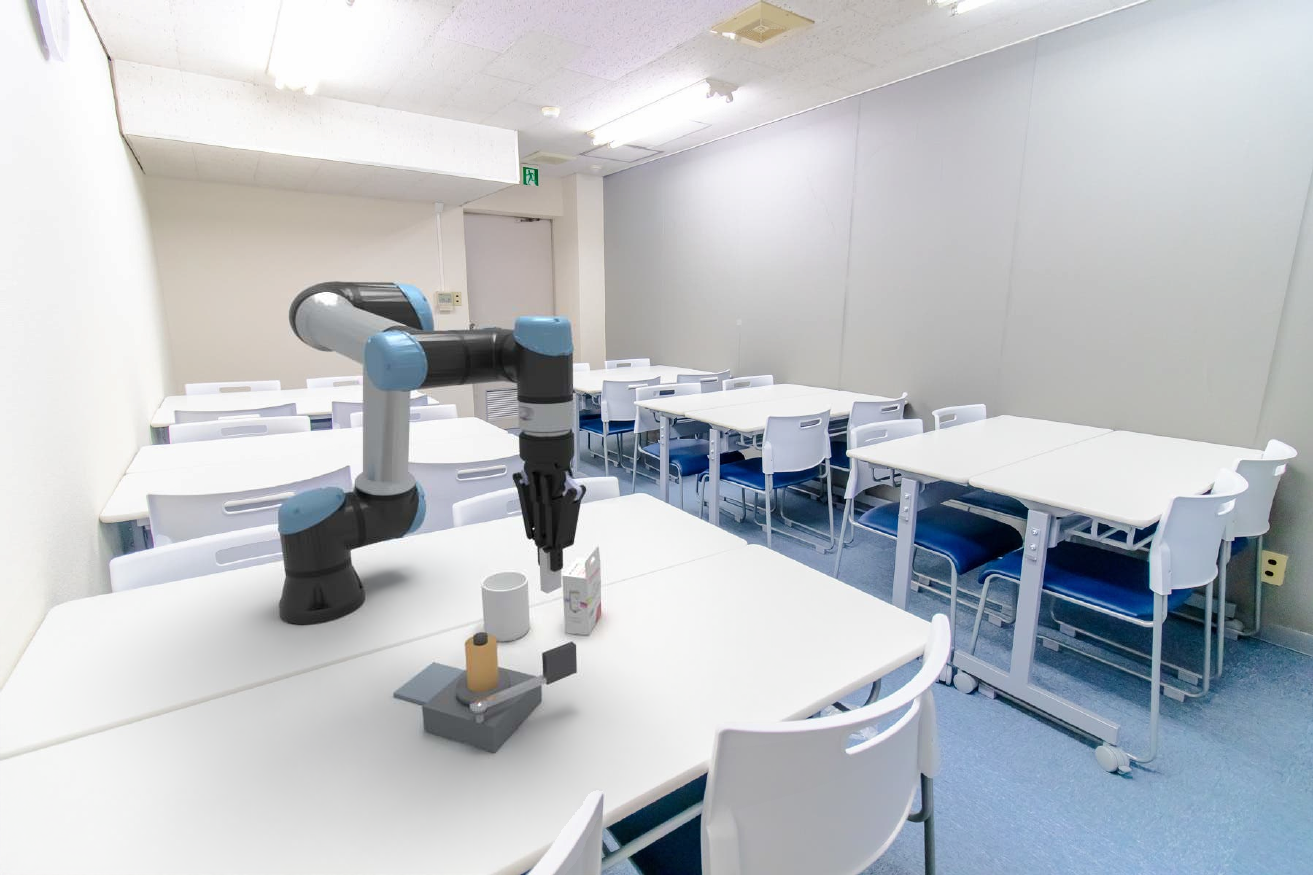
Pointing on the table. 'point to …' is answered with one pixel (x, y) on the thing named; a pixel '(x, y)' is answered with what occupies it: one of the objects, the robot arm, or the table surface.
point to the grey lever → (554, 668)
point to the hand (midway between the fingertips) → (551, 588)
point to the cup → (506, 605)
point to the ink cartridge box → (582, 594)
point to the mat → (427, 683)
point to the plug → (481, 669)
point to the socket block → (479, 730)
